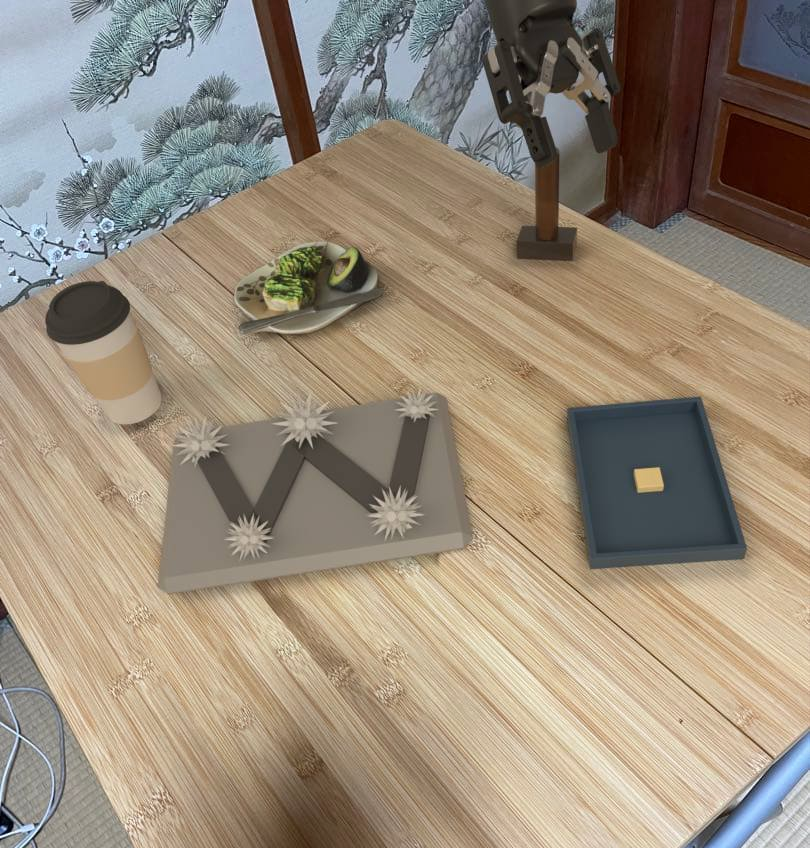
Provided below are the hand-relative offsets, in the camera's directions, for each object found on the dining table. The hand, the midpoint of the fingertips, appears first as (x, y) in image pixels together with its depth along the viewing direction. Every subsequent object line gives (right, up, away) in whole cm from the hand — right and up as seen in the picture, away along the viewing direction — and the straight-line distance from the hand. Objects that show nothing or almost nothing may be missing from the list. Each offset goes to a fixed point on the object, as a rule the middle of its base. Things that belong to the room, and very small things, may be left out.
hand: (579, 156), depth 77 cm
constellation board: (-25, -31, +8) cm, 41 cm away
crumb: (+7, -30, +2) cm, 31 cm away
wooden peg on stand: (+2, +1, +29) cm, 29 cm away
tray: (+7, -31, +3) cm, 32 cm away
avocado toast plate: (-28, -4, +30) cm, 41 cm away
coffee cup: (-48, -20, +21) cm, 56 cm away
